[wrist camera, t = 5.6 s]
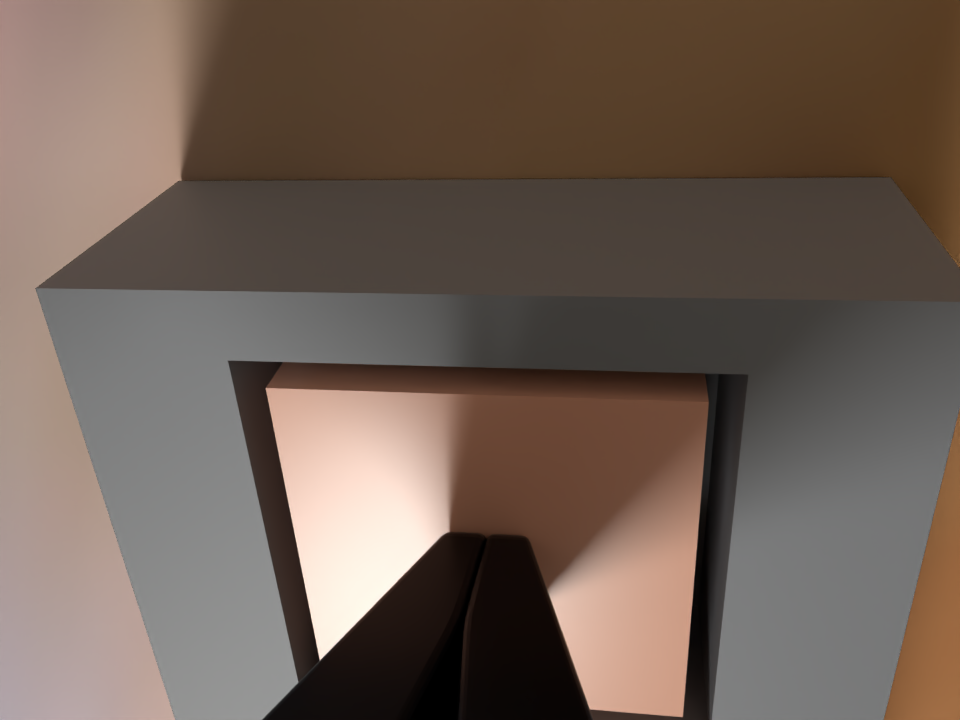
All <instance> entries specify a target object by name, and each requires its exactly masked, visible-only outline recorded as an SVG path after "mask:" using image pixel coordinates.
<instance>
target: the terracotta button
mask: <svg viewBox="0 0 960 720" xmlns="http://www.w3.org/2000/svg"><path fill="white" fill-rule="evenodd" d="M266 392H267V397H268V402H269V407H270V412H271V417H272V422H273V427H274V432H275V437H276V442H277V447H278V452H279V457H280V462H281V467H282V472H283V478H284V483H285V488H286V493H287V498H288V503H289V508H290V513H291V518H292V523H293V528H294V533H295V538H296V543H297V548H298V553H299V558H300V563H301V568H302V573H303V578H304V583H305V588H306V593H307V598H308V603H309V608H310V613H311V618H312V623H313V628H314V633H315V638H316V643H317V648H318V653H319V658H320V660H321V659H322V658H323V657H324V656H325V655H326V654H327V653H328V652H329V651H330V650H331V649H332V647H333V646H334V645H335V644H336V643H337V642H338V641H339V640H340V639H341V638H342V637H343V636H344V635H345V634H346V633H347V632H348V631H349V630H350V629H351V628H352V627H353V626H354V625H355V624H356V623H357V622H358V621H359V620H360V619H361V618H362V617H363V616H364V615H365V614H366V613H367V612H368V611H369V610H370V609H371V608H372V607H373V606H374V605H375V604H376V602H377V601H378V600H379V599H380V598H381V597H382V596H383V595H384V594H385V593H386V592H387V591H388V590H389V589H390V588H391V587H392V586H393V585H394V584H395V583H396V582H397V581H398V580H399V579H400V578H401V577H402V576H403V575H404V574H405V573H406V572H407V571H408V570H409V569H410V568H411V567H412V566H413V565H414V564H415V563H416V562H417V561H418V560H419V559H420V558H421V556H422V555H423V554H424V553H425V552H426V551H427V550H428V549H429V548H430V547H431V546H432V545H433V544H434V543H435V542H436V541H437V540H438V539H439V538H440V537H441V536H442V535H443V534H445V533H447V532H466V533H480V534H483V535H484V536H485V537H486V539H487V538H488V537H489V536H490V535H492V534H502V535H519V536H525V537H527V538H528V539H529V541H530V542H531V545H532V548H533V551H534V554H535V556H536V559H537V562H538V565H539V568H540V570H541V573H542V576H543V579H544V582H545V584H546V587H547V590H548V593H549V596H550V599H551V601H552V604H553V607H554V610H555V613H556V615H557V618H558V621H559V624H560V627H561V630H562V632H563V635H564V638H565V641H566V644H567V646H568V649H569V652H570V655H571V658H572V660H573V663H574V666H575V669H576V672H577V675H578V677H579V680H580V683H581V686H582V689H583V691H584V694H585V697H586V700H587V703H588V705H589V708H590V709H592V710H604V711H616V712H627V713H639V714H651V715H663V716H675V717H683V708H684V696H685V684H686V672H687V660H688V648H689V636H690V624H691V612H692V599H693V587H694V575H695V563H696V551H697V539H698V527H699V515H700V503H701V490H702V478H703V466H704V454H705V442H706V430H707V418H708V406H709V400H708V392H707V385H706V377H705V373H670V372H633V371H596V370H559V369H523V368H486V367H449V366H412V365H376V364H339V363H302V362H283V363H282V365H281V366H280V368H279V369H278V371H277V372H276V373H275V375H274V376H273V378H272V379H271V381H270V382H269V384H268V385H267V387H266Z"/></svg>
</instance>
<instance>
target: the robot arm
mask: <svg viewBox="0 0 960 720" xmlns="http://www.w3.org/2000/svg"><path fill="white" fill-rule="evenodd" d="M262 720H593V717H592V714H591V711H590V708H589V705H588V703H587V700H586V697H585V694H584V691H583V689H582V686H581V683H580V680H579V677H578V675H577V672H576V669H575V666H574V663H573V660H572V658H571V655H570V652H569V649H568V646H567V644H566V641H565V638H564V635H563V632H562V630H561V627H560V624H559V621H558V618H557V615H556V613H555V610H554V607H553V604H552V601H551V599H550V596H549V593H548V590H547V587H546V584H545V582H544V579H543V576H542V573H541V570H540V568H539V565H538V562H537V559H536V556H535V554H534V551H533V548H532V545H531V542H530V541H529V539H528V538H527V537H525V536H519V535H502V534H492V535H490V536H489V537H488V538H487V539H486V537H485V536H484V535H483V534H480V533H466V532H447V533H445V534H443V535H442V536H441V537H440V538H439V539H438V540H437V541H436V542H435V543H434V544H433V545H432V546H431V547H430V548H429V549H428V550H427V551H426V552H425V553H424V554H423V555H422V556H421V558H420V559H419V560H418V561H417V562H416V563H415V564H414V565H413V566H412V567H411V568H410V569H409V570H408V571H407V572H406V573H405V574H404V575H403V576H402V577H401V578H400V579H399V580H398V581H397V582H396V583H395V584H394V585H393V586H392V587H391V588H390V589H389V590H388V591H387V592H386V593H385V594H384V595H383V596H382V597H381V598H380V599H379V600H378V601H377V602H376V604H375V605H374V606H373V607H372V608H371V609H370V610H369V611H368V612H367V613H366V614H365V615H364V616H363V617H362V618H361V619H360V620H359V621H358V622H357V623H356V624H355V625H354V626H353V627H352V628H351V629H350V630H349V631H348V632H347V633H346V634H345V635H344V636H343V637H342V638H341V639H340V640H339V641H338V642H337V643H336V644H335V645H334V646H333V647H332V649H331V650H330V651H329V652H328V653H327V654H326V655H325V656H324V657H323V658H322V659H321V660H320V661H319V662H318V663H317V664H316V665H315V666H314V667H313V668H312V669H311V670H310V671H309V672H308V673H307V674H306V675H305V676H304V677H303V678H302V679H301V680H300V681H299V682H298V683H297V684H296V685H295V686H294V687H293V688H292V689H291V690H290V691H289V692H288V694H287V695H286V696H285V697H284V698H283V699H282V700H281V701H280V702H279V703H278V704H277V705H276V706H275V707H274V708H273V709H272V710H271V711H270V712H269V713H268V714H267V715H266V716H265V717H264V718H263V719H262Z"/></svg>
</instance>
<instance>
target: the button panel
mask: <svg viewBox="0 0 960 720" xmlns="http://www.w3.org/2000/svg"><path fill="white" fill-rule="evenodd" d="M36 292H37V295H38V298H39V301H40V304H41V307H42V310H43V313H44V316H45V319H46V322H47V325H48V329H49V332H50V335H51V338H52V341H53V344H54V347H55V350H56V353H57V356H58V359H59V362H60V366H61V369H62V372H63V375H64V378H65V381H66V384H67V387H68V390H69V393H70V396H71V399H72V403H73V406H74V409H75V412H76V415H77V418H78V421H79V424H80V427H81V430H82V433H83V436H84V440H85V443H86V446H87V449H88V452H89V455H90V458H91V461H92V464H93V467H94V470H95V473H96V477H97V480H98V483H99V486H100V489H101V492H102V495H103V498H104V501H105V504H106V507H107V510H108V514H109V517H110V520H111V523H112V526H113V529H114V532H115V535H116V538H117V541H118V544H119V547H120V551H121V554H122V557H123V560H124V563H125V566H126V569H127V572H128V575H129V578H130V581H131V584H132V588H133V591H134V594H135V597H136V600H137V603H138V606H139V609H140V612H141V615H142V618H143V621H144V625H145V628H146V631H147V634H148V637H149V640H150V643H151V646H152V649H153V652H154V655H155V658H156V662H157V665H158V668H159V671H160V674H161V677H162V680H163V683H164V686H165V689H166V692H167V695H168V699H169V702H170V705H171V708H172V711H173V714H174V717H175V720H262V719H263V718H264V717H265V716H266V715H267V714H268V713H269V712H270V711H271V710H272V709H273V708H274V707H275V706H276V705H277V704H278V703H279V702H280V701H281V700H282V699H283V698H284V697H285V696H286V695H287V694H288V692H289V691H290V690H291V689H292V688H293V687H294V686H295V685H296V684H297V683H298V682H299V681H300V680H301V679H302V678H303V677H304V676H305V675H306V674H307V673H308V672H309V671H310V670H311V669H312V668H313V667H314V666H315V665H316V664H317V663H318V662H319V661H320V658H319V653H318V648H317V643H316V638H315V633H314V628H313V623H312V618H311V613H310V608H309V603H308V598H307V593H306V588H305V583H304V578H303V573H302V568H301V563H300V558H299V553H298V548H297V543H296V538H295V533H294V528H293V523H292V518H291V513H290V508H289V503H288V498H287V493H286V488H285V483H284V478H283V472H282V467H281V462H280V457H279V452H278V447H277V442H276V437H275V432H274V427H273V422H272V417H271V412H270V407H269V402H268V397H267V392H266V387H267V385H268V384H269V382H270V381H271V379H272V378H273V376H274V375H275V373H276V372H277V371H278V369H279V368H280V366H281V365H282V363H283V362H302V363H339V364H376V365H412V366H449V367H486V368H523V369H559V370H596V371H633V372H670V373H705V377H706V385H707V392H708V400H709V406H708V418H707V430H706V442H705V454H704V466H703V478H702V490H701V503H700V515H699V527H698V539H697V551H696V563H695V575H694V587H693V599H692V612H691V624H690V636H689V648H688V660H687V672H686V684H685V696H684V708H683V717H675V716H663V715H651V714H639V713H627V712H616V711H604V710H592V709H590V711H591V714H592V717H593V720H884V716H885V712H886V708H887V704H888V700H889V696H890V691H891V687H892V683H893V679H894V675H895V671H896V667H897V663H898V659H899V655H900V650H901V646H902V642H903V638H904V634H905V630H906V626H907V622H908V618H909V614H910V609H911V605H912V601H913V597H914V593H915V589H916V585H917V581H918V577H919V573H920V568H921V564H922V560H923V556H924V552H925V548H926V544H927V540H928V536H929V532H930V527H931V523H932V519H933V515H934V511H935V507H936V503H937V499H938V495H939V491H940V486H941V482H942V478H943V474H944V470H945V466H946V462H947V458H948V454H949V450H950V445H951V441H952V437H953V433H954V429H955V425H956V421H957V417H958V413H959V409H960V268H959V267H958V265H957V264H956V263H955V262H954V260H953V259H952V258H951V256H950V255H949V254H948V252H947V251H946V250H945V248H944V247H943V246H942V244H941V243H940V242H939V240H938V239H937V238H936V236H935V235H934V234H933V232H932V231H931V230H930V228H929V227H928V226H927V224H926V223H925V222H924V221H923V219H922V218H921V217H920V215H919V214H918V213H917V211H916V210H915V209H914V207H913V206H912V205H911V203H910V202H909V201H908V199H907V198H906V197H905V195H904V194H903V193H902V191H901V190H900V189H899V187H898V186H897V185H896V184H895V182H894V181H893V180H892V178H891V177H854V178H658V179H463V180H267V181H178V182H177V183H175V184H174V185H173V186H171V187H170V188H169V189H167V190H166V191H165V192H163V193H162V194H161V195H159V196H158V197H157V198H155V199H154V200H153V201H151V202H150V203H149V204H147V205H146V206H145V207H143V208H142V209H141V210H139V211H138V212H137V213H135V214H134V215H133V216H131V217H130V218H129V219H127V220H126V221H125V222H123V223H122V224H121V225H119V226H118V227H117V228H115V229H114V230H113V231H111V232H110V233H109V234H107V235H106V236H105V237H103V238H102V239H101V240H99V241H98V242H97V243H95V244H94V245H93V246H91V247H90V248H89V249H87V250H86V251H85V252H83V253H82V254H81V255H79V256H78V257H77V258H75V259H74V260H73V261H71V262H70V263H69V264H67V265H66V266H65V267H63V268H62V269H61V270H59V271H58V272H57V273H55V274H54V275H53V276H51V277H50V278H49V279H47V280H46V281H45V282H43V283H42V284H41V285H39V286H38V287H37V288H36Z"/></svg>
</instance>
